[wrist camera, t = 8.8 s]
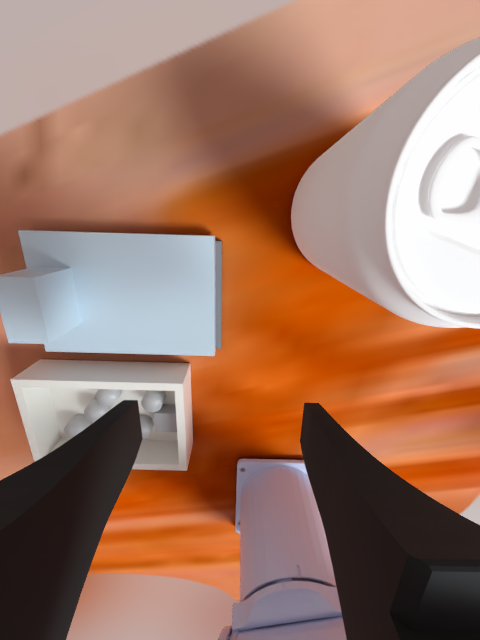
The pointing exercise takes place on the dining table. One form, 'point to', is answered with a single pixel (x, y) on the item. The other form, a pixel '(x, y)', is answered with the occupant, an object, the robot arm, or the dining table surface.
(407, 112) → the beverage can
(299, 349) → the dining table surface
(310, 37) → the dining table surface
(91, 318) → the lid
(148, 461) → the tub
